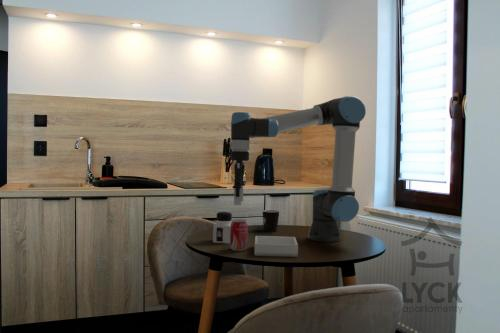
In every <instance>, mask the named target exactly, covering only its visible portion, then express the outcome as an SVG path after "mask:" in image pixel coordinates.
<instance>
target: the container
mask: <svg viewBox="0 0 500 333" xmlns="http://www.w3.org/2000/svg"><path fill="white" fill-rule="evenodd" d="M232 217H233V216H232V213H231V212H229V211H219V212H217V213H216V223H215V224H213V226H212V228H213V229H212V243H215V244H229V245H230V225H231V223H232V220H233V219H232Z"/></svg>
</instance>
